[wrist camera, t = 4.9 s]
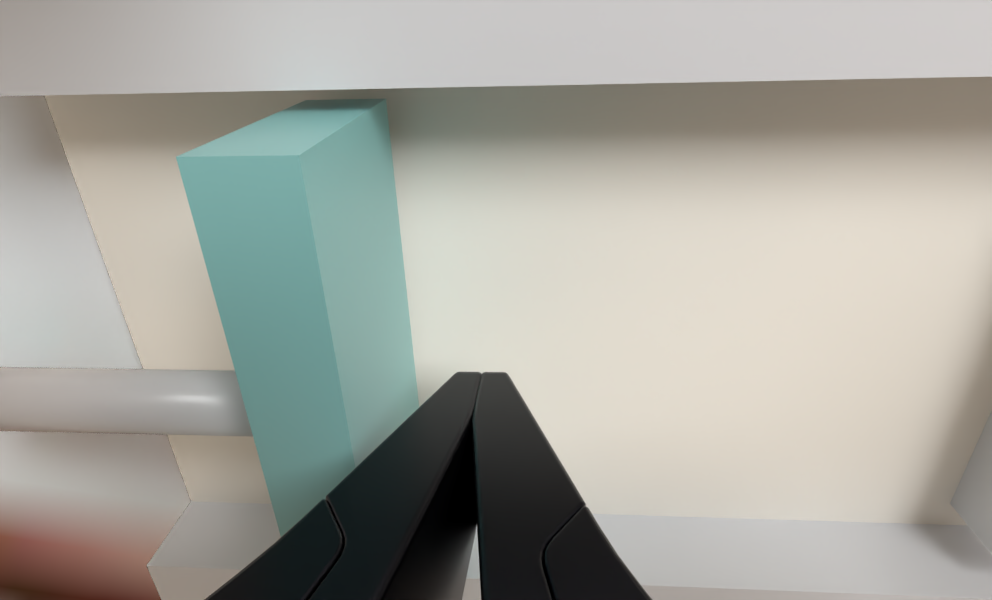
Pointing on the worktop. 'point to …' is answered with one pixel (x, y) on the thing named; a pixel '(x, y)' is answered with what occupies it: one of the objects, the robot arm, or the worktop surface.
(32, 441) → the worktop surface
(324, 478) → the pusher
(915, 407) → the lane
